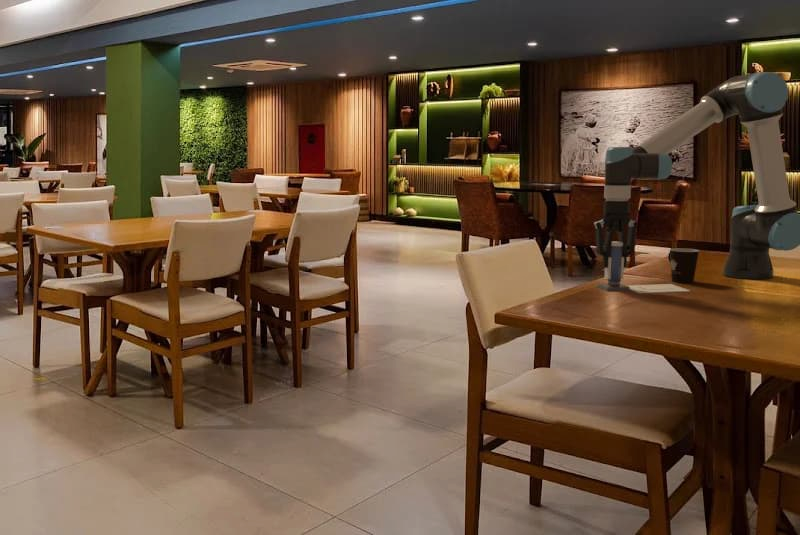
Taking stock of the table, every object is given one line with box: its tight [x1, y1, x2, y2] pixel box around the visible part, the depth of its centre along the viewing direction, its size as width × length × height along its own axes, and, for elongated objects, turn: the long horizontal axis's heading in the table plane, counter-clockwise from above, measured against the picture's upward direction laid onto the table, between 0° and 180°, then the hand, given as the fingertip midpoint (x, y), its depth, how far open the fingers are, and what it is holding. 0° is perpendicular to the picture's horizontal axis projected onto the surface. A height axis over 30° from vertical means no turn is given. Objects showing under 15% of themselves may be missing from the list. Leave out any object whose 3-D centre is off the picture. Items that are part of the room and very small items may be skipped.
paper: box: [627, 283, 691, 294], centre depth 226 cm, size 16×11×1 cm
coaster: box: [597, 282, 631, 292], centre depth 227 cm, size 7×7×1 cm
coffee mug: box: [667, 247, 700, 284], centre depth 240 cm, size 12×9×10 cm
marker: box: [606, 240, 623, 286], centre depth 226 cm, size 4×4×13 cm
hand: (613, 278), depth 227 cm, fingers closed on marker, 3 cm apart
